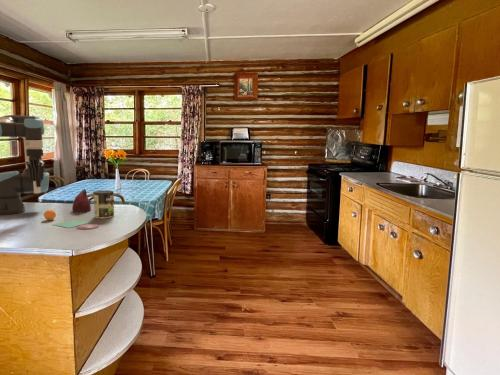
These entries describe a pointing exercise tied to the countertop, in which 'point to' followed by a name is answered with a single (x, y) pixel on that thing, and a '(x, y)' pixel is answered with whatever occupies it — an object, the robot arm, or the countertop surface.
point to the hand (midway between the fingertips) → (37, 193)
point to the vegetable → (81, 203)
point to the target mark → (71, 223)
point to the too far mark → (87, 226)
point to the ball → (49, 214)
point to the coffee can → (103, 204)
